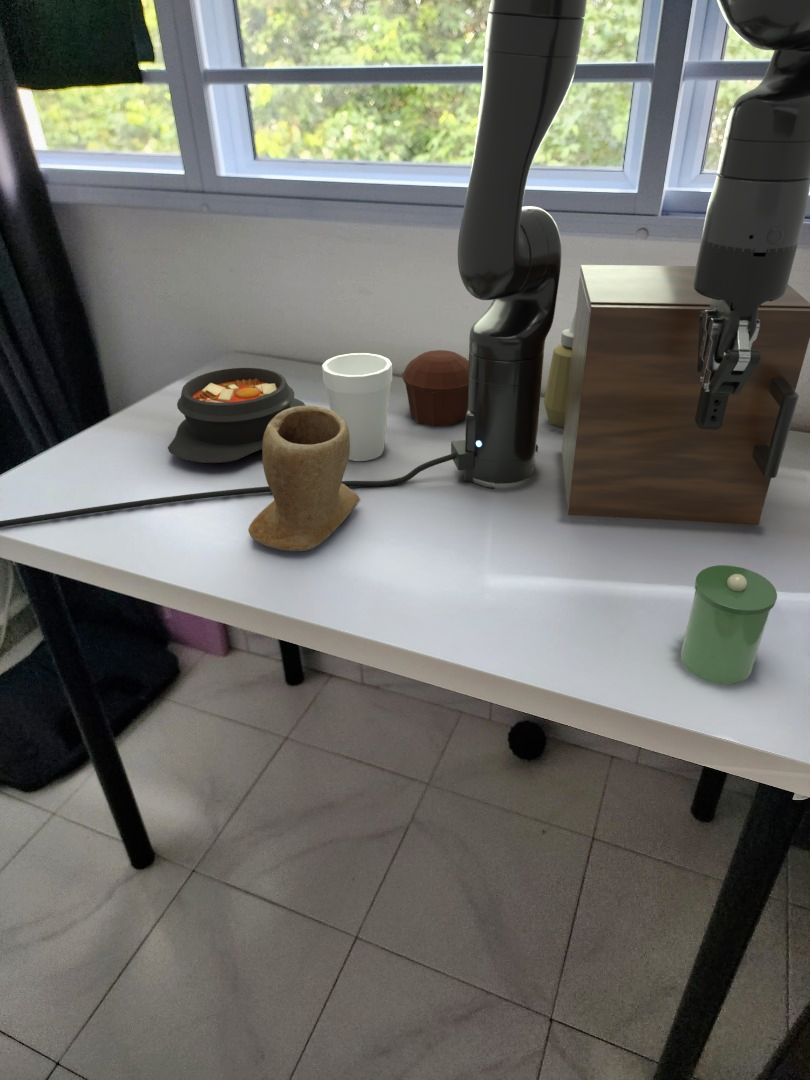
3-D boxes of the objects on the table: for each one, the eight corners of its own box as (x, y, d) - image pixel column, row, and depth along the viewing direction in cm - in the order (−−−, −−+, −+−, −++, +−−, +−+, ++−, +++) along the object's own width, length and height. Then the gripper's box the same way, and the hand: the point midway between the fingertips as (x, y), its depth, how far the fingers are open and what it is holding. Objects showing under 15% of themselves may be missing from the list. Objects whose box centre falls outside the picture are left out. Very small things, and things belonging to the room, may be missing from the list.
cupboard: (753, 526, 89) (814, 306, 75) (566, 516, 92) (590, 302, 78) (722, 462, 103) (768, 266, 89) (561, 455, 106) (580, 264, 92)
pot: (684, 683, 67) (706, 595, 62) (673, 635, 73) (692, 551, 67) (762, 689, 66) (790, 601, 61) (744, 641, 72) (769, 556, 67)
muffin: (395, 426, 115) (393, 364, 110) (410, 399, 125) (409, 340, 119) (471, 432, 113) (473, 368, 108) (481, 404, 122) (483, 344, 117)
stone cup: (324, 569, 83) (312, 447, 75) (236, 546, 88) (217, 428, 80) (385, 507, 95) (381, 395, 87) (305, 489, 99) (294, 381, 91)
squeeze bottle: (603, 421, 116) (618, 303, 106) (583, 440, 110) (598, 318, 100) (554, 411, 119) (565, 296, 110) (533, 429, 114) (542, 309, 104)
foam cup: (404, 443, 110) (403, 358, 103) (376, 470, 103) (372, 380, 96) (348, 433, 114) (342, 349, 107) (317, 458, 107) (309, 370, 100)
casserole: (252, 484, 101) (243, 426, 96) (138, 463, 106) (125, 408, 102) (333, 414, 120) (329, 363, 116) (234, 399, 126) (226, 351, 121)
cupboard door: (768, 555, 84) (835, 326, 70) (568, 543, 87) (595, 321, 73) (754, 526, 89) (814, 308, 75) (566, 516, 92) (590, 304, 78)
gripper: (688, 220, 68) (656, 398, 78) (720, 252, 57) (678, 455, 67) (774, 220, 67) (731, 401, 77) (824, 253, 56) (766, 459, 66)
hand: (707, 426), depth 72 cm, fingers closed
